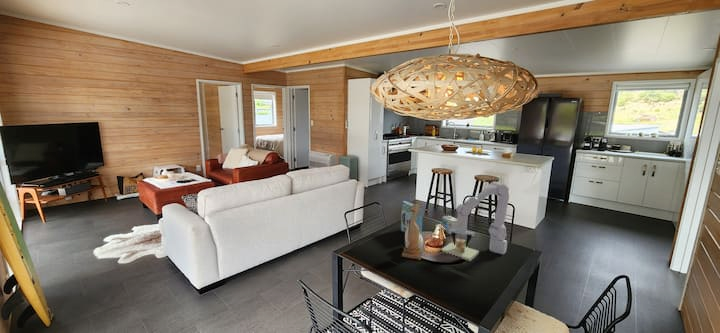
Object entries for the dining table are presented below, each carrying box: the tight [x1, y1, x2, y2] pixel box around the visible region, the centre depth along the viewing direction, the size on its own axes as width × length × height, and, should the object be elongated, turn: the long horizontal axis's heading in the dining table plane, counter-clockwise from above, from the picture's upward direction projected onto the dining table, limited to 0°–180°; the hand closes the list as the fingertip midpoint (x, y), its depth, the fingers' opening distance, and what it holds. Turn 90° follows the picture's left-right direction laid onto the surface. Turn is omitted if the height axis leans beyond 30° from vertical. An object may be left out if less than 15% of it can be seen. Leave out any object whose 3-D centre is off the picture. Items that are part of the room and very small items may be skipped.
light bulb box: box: [441, 215, 458, 235], centre depth 213 cm, size 11×7×11 cm, turn 25°
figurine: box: [404, 227, 424, 249], centre depth 181 cm, size 11×11×15 cm
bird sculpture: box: [401, 202, 423, 261], centre depth 173 cm, size 11×12×32 cm
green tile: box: [440, 242, 480, 262], centre depth 181 cm, size 18×14×2 cm
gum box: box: [400, 200, 424, 235], centre depth 202 cm, size 19×5×23 cm, turn 22°
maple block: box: [455, 238, 466, 252], centre depth 181 cm, size 5×5×6 cm
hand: (460, 245), depth 181 cm, fingers open, 6 cm apart
